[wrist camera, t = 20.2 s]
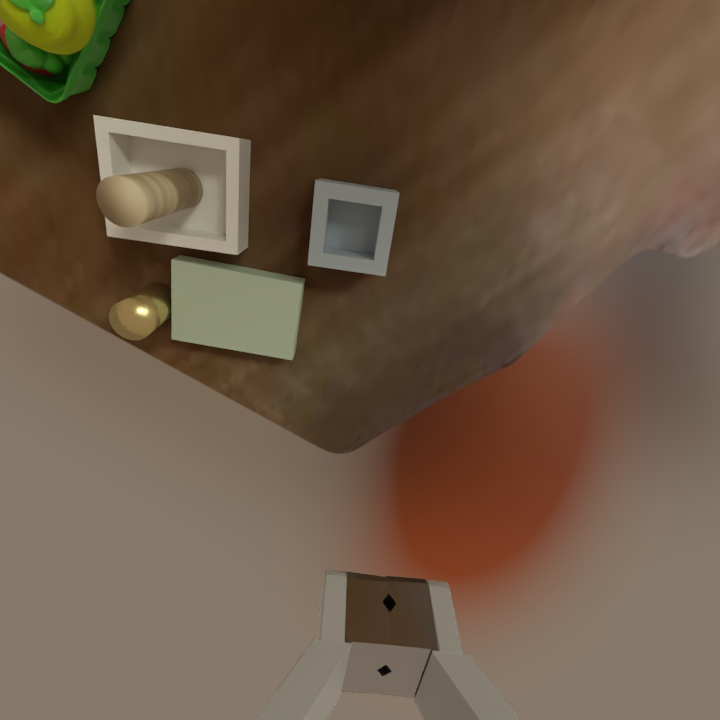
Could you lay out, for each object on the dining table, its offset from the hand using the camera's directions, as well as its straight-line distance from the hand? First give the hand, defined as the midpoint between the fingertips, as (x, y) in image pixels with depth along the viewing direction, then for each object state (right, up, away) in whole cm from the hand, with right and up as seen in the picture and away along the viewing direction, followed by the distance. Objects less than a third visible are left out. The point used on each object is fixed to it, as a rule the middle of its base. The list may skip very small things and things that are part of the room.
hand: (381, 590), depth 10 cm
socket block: (-1, +18, +28) cm, 33 cm away
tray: (-16, +21, +27) cm, 37 cm away
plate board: (-13, +11, +32) cm, 36 cm away
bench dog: (-20, +12, +31) cm, 39 cm away
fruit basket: (-21, +32, +22) cm, 44 cm away
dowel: (-16, +21, +26) cm, 37 cm away
